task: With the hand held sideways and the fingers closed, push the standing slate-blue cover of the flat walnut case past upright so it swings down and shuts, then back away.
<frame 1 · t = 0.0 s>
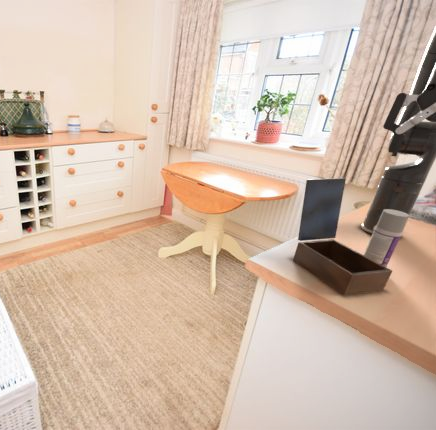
hand: (426, 159, 50), 29 cm above the counter, tool pointing down, fingers open, 8 cm apart
cover: (321, 209, 72), point 13 cm above the counter, hinge at 100.0°
container: (371, 269, 72), on the counter
case: (334, 274, 69), on the counter
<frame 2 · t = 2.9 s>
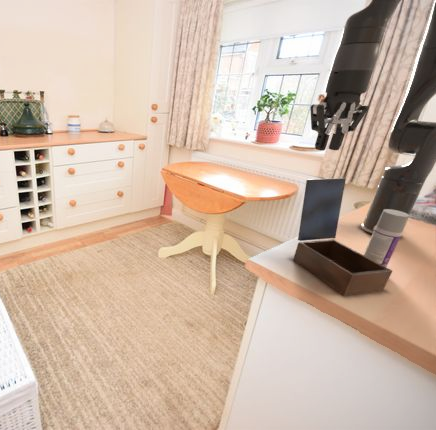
hand: (326, 149, 69), 27 cm above the counter, tool pointing down, fingers open, 3 cm apart
nothing on the counter moved.
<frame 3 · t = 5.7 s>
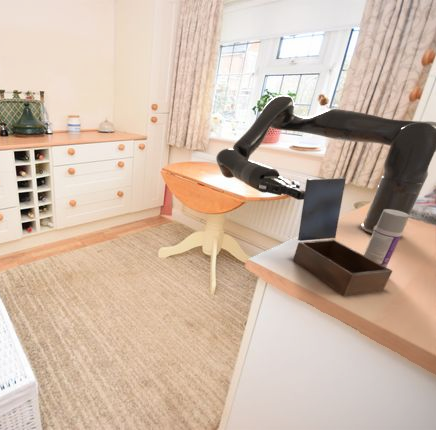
hand: (302, 196, 75), 15 cm above the counter, tool horizontal, fingers closed
nothing on the counter moved.
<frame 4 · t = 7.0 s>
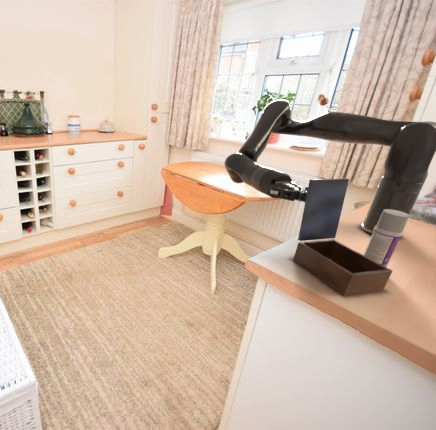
hand: (317, 202, 71), 15 cm above the counter, tool horizontal, fingers closed
cover: (322, 210, 71), point 13 cm above the counter, hinge at 96.8°, touching gripper
everything else where it was.
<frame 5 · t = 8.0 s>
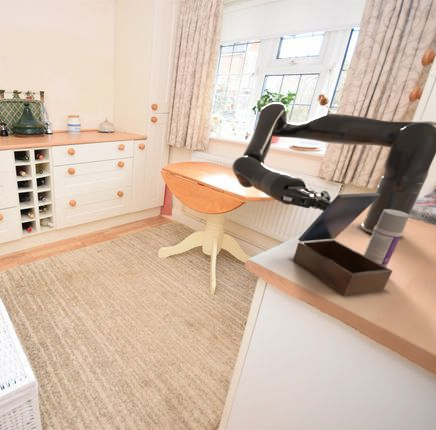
hand: (335, 209, 66), 15 cm above the counter, tool horizontal, fingers closed
cover: (336, 218, 68), point 13 cm above the counter, hinge at 66.2°
everything else where it was.
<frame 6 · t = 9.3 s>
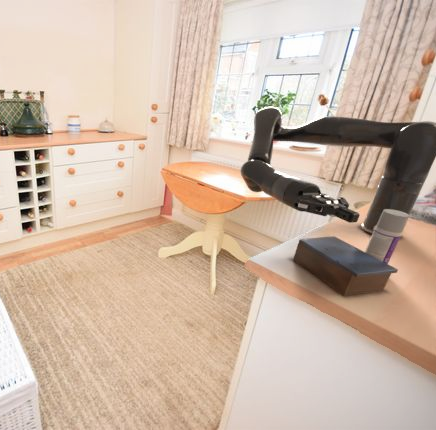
hand: (355, 218, 62), 15 cm above the counter, tool horizontal, fingers closed
cover: (344, 254, 66), point 6 cm above the counter, hinge at -0.1°
everything else where it was.
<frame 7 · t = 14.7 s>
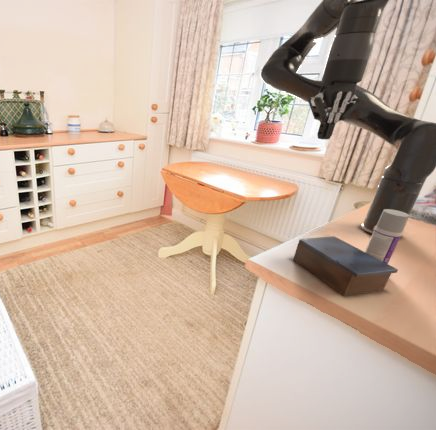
hand: (323, 138, 71), 29 cm above the counter, tool pointing down, fingers closed
nothing on the counter moved.
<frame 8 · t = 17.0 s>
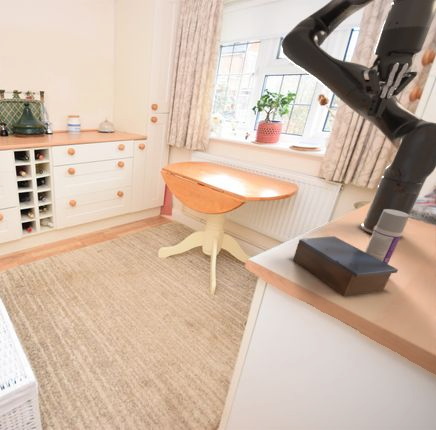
hand: (373, 115, 67), 35 cm above the counter, tool pointing down, fingers closed
nothing on the counter moved.
at the end: cover at +0° (first picture: +100°); container moved 0.2 cm from its start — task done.
